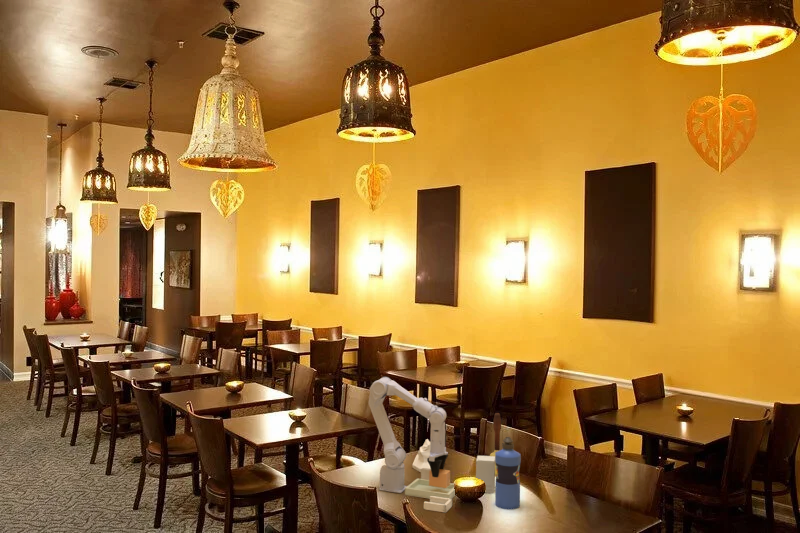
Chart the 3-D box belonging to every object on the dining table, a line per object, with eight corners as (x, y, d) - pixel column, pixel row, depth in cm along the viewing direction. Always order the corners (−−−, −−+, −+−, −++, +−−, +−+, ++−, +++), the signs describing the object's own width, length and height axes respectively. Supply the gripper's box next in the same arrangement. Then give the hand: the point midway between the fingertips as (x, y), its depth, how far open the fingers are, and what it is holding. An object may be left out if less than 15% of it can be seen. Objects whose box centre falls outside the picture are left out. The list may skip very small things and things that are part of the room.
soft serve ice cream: (448, 476, 283) (445, 446, 279) (413, 478, 283) (410, 449, 280) (445, 460, 295) (443, 432, 292) (412, 463, 295) (410, 434, 292)
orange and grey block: (419, 483, 257) (419, 469, 257) (423, 480, 261) (423, 466, 261) (446, 488, 252) (446, 473, 252) (449, 484, 257) (450, 470, 257)
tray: (404, 494, 254) (404, 488, 254) (417, 484, 266) (417, 478, 266) (449, 501, 247) (449, 494, 247) (459, 490, 259) (459, 484, 259)
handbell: (490, 465, 294) (491, 409, 294) (516, 470, 287) (516, 412, 287) (477, 471, 284) (477, 413, 284) (503, 477, 277) (503, 417, 277)
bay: (423, 509, 239) (423, 502, 239) (430, 502, 246) (430, 495, 246) (445, 512, 236) (445, 505, 236) (452, 505, 243) (452, 499, 243)
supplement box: (494, 493, 257) (494, 461, 257) (475, 492, 258) (475, 460, 258) (495, 487, 264) (495, 456, 264) (476, 486, 265) (477, 454, 265)
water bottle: (522, 502, 247) (522, 435, 247) (518, 510, 238) (518, 441, 239) (497, 499, 250) (497, 433, 250) (492, 507, 242) (493, 439, 242)
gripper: (441, 445, 248) (441, 481, 248) (453, 436, 261) (453, 471, 261) (423, 443, 251) (423, 479, 251) (436, 434, 264) (436, 468, 264)
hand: (437, 475), depth 256 cm, fingers closed on orange and grey block, 4 cm apart
